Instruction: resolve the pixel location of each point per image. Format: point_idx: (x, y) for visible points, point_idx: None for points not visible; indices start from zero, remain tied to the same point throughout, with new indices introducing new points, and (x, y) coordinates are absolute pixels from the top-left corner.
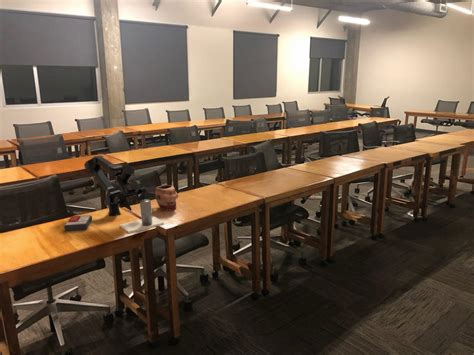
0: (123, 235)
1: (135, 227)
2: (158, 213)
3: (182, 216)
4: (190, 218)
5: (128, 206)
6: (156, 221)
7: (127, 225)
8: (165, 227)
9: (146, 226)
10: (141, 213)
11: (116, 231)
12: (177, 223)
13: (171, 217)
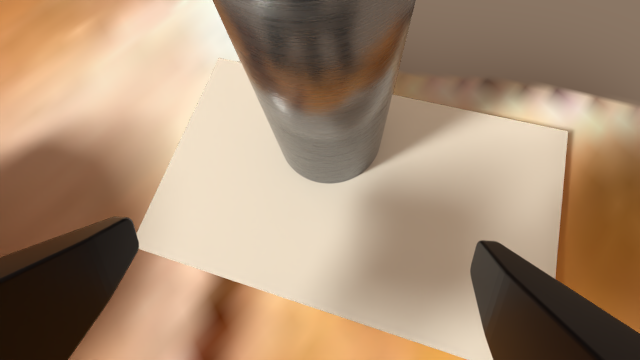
0: (619, 141)
1: (458, 159)
2: None
3: (24, 75)
4: (46, 7)
5: (589, 306)
6: (234, 118)
7: None
8: None
9: None
10: (400, 60)
11: (633, 284)
12: (167, 7)
13: (73, 127)
